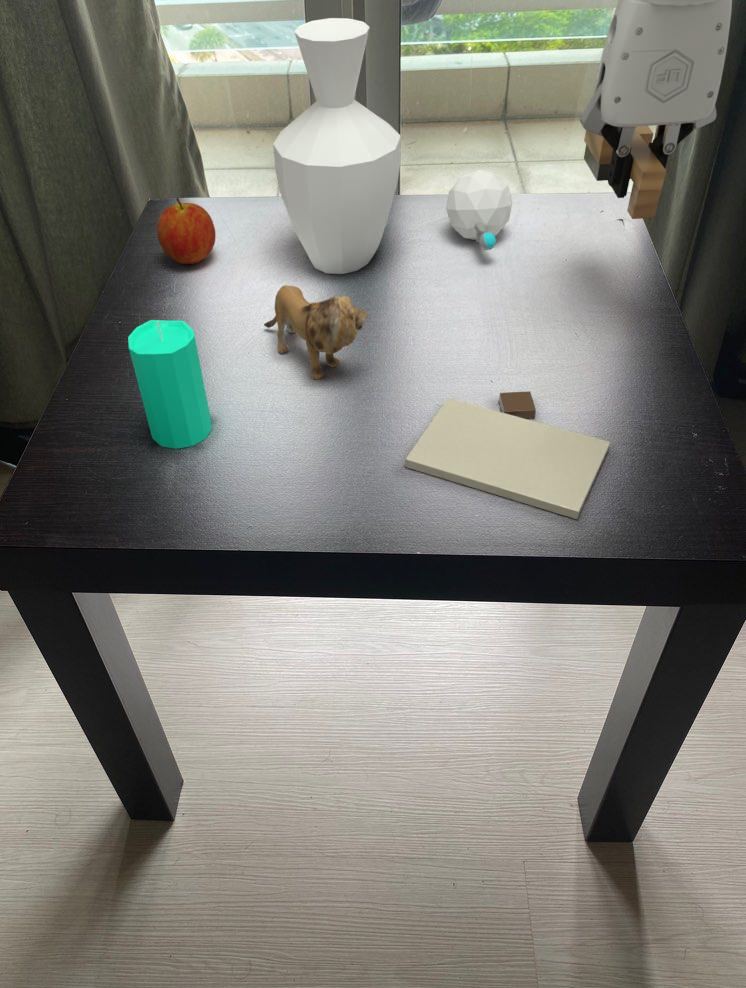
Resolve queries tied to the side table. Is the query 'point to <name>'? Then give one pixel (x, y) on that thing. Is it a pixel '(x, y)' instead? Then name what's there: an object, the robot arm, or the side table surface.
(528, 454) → the tile
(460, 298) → the side table surface
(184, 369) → the candle
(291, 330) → the lion figurine
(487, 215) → the perfume bottle
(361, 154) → the vase
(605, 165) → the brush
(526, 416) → the mud flake
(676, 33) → the robot arm
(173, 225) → the fruit
